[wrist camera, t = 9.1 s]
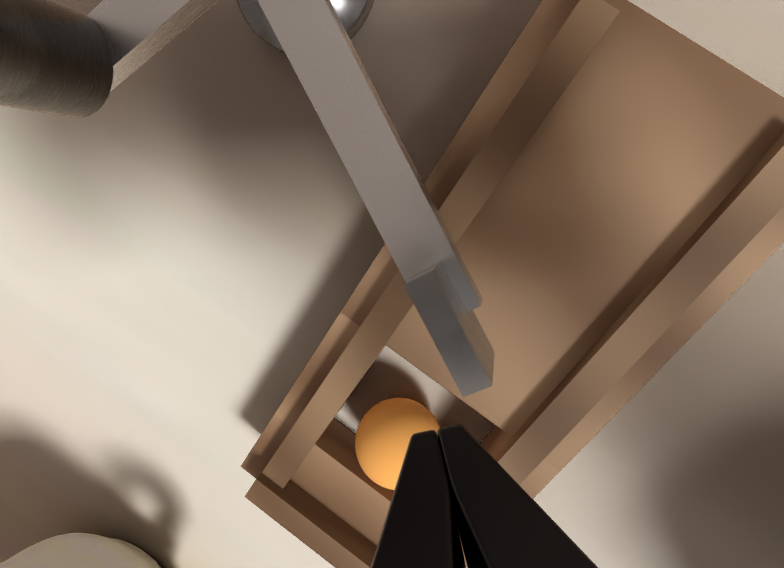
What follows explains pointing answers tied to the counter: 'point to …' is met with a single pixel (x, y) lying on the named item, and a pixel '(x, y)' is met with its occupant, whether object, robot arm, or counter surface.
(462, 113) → the counter surface
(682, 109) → the lane
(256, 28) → the pivot post
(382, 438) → the ball
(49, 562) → the teacup
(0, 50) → the lever
